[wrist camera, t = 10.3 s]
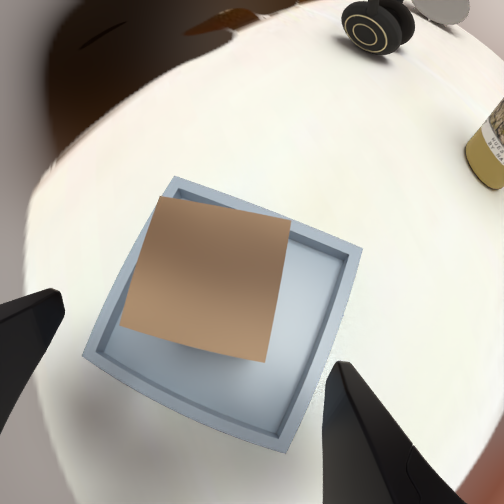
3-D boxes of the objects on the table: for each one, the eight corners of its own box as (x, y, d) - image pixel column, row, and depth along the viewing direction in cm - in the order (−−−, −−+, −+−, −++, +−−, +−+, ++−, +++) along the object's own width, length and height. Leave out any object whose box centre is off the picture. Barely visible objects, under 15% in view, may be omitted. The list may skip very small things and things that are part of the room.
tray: (281, 444, 16) (285, 453, 14) (94, 356, 17) (81, 356, 15) (353, 257, 20) (362, 248, 18) (179, 188, 21) (174, 175, 20)
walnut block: (254, 357, 17) (265, 363, 9) (176, 338, 17) (118, 325, 9) (269, 280, 19) (291, 220, 10) (194, 265, 19) (160, 195, 10)
